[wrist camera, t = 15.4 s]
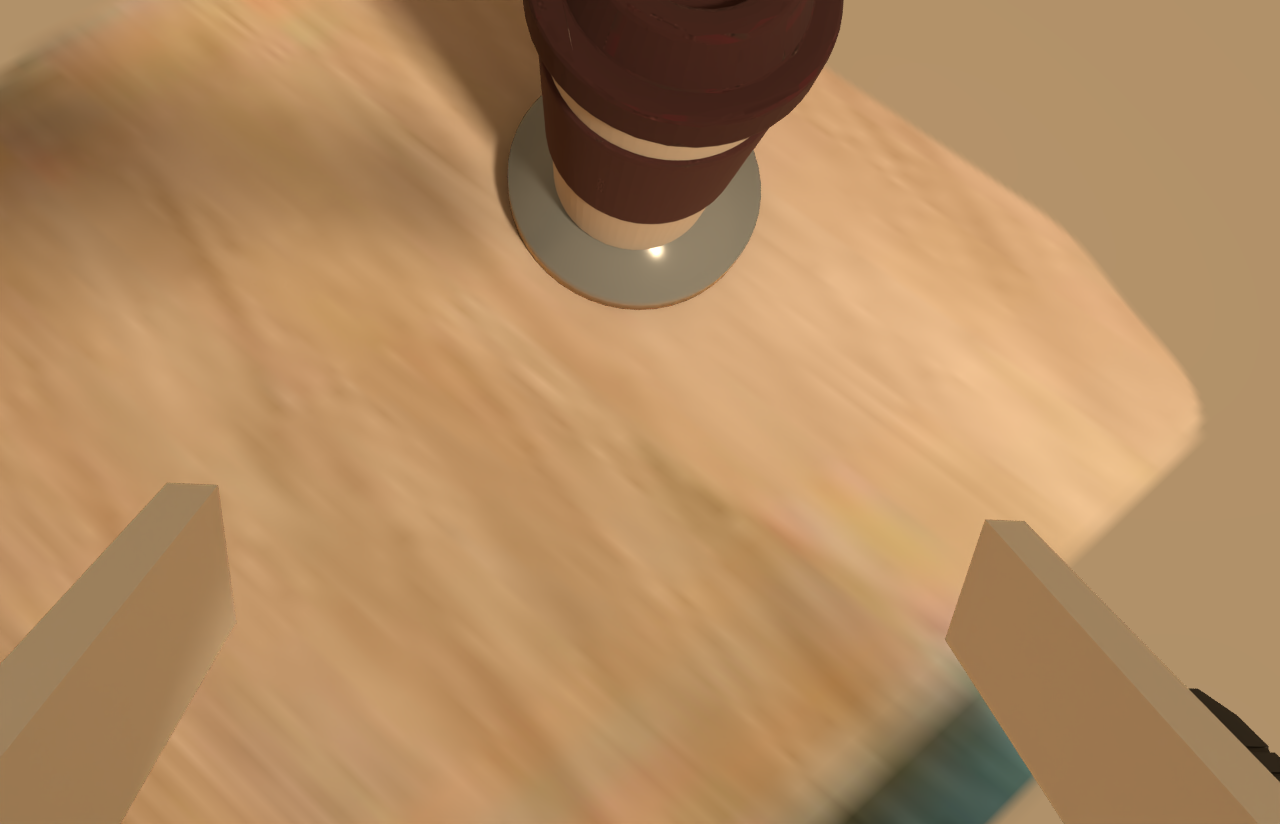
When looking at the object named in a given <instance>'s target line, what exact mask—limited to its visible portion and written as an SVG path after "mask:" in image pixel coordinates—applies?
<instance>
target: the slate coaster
mask: <svg viewBox="0 0 1280 824" xmlns="http://www.w3.org/2000/svg"><path fill="white" fill-rule="evenodd" d="M508 191H509V203H510V208H511V212H512V216H513V220H514V222H515V225H516V228H517V230H518V233H519V235H520V237H521V239H522V241H523V242H524V244H525V246H526V248H527V249H528V251H529V252H530V254H531V255H532V256H533V258H534V259H535V260H536V262H537V263H538V264H539V265H540V266H541V267H542V268H543V269H544V270H545V271H546V272H547V273H548V274H549V275H550V276H551V277H552V278H554V279H555V280H556V281H557V282H559V283H560V284H561V285H563V286H564V287H566V288H567V289H569V290H571V291H572V292H574V293H576V294H578V295H580V296H582V297H584V298H586V299H588V300H591V301H594V302H597V303H600V304H603V305H606V306H611V307H616V308H621V309H634V310H645V309H657V308H662V307H667V306H672V305H675V304H678V303H681V302H684V301H687V300H689V299H691V298H693V297H695V296H697V295H699V294H701V293H702V292H704V291H705V290H707V289H708V288H710V287H711V286H713V285H714V284H715V283H716V282H717V281H718V280H719V279H721V278H722V277H723V276H724V275H725V274H726V273H727V271H728V270H729V269H730V268H731V267H732V265H733V264H734V263H735V262H736V260H737V259H738V257H739V256H740V254H741V253H742V251H743V250H744V248H745V246H746V245H747V243H748V242H749V239H750V237H751V235H752V233H753V230H754V228H755V225H756V221H757V218H758V214H759V208H760V200H761V181H760V174H759V167H758V164H757V160H756V157H755V153H754V151H752V152H751V154H750V155H749V156H748V158H747V159H746V161H745V162H744V163H743V165H742V166H741V168H740V169H739V170H738V172H737V173H736V175H735V176H734V177H733V179H732V180H731V182H730V183H729V184H728V186H727V187H726V188H725V190H724V191H723V192H722V193H721V194H720V195H719V196H718V197H717V198H716V200H715V201H714V202H712V203H711V204H710V205H708V206H707V207H706V208H705V210H704V211H703V213H702V214H701V216H700V217H699V218H698V220H697V221H696V222H695V224H694V225H693V226H692V227H691V228H690V229H689V230H688V231H687V232H685V233H684V234H683V235H682V236H680V237H678V238H677V239H675V240H674V241H672V242H670V243H667V244H665V245H662V246H660V247H656V248H651V249H646V250H628V249H621V248H617V247H613V246H610V245H606V244H604V243H602V242H600V241H598V240H596V239H594V238H592V237H591V236H590V235H588V234H587V233H586V232H584V231H583V230H582V229H580V228H579V227H578V226H577V225H576V224H575V222H574V221H573V220H572V219H571V218H570V216H569V215H568V214H567V212H566V211H565V209H564V207H563V205H562V203H561V201H560V199H559V196H558V194H557V191H556V187H555V182H554V173H553V160H552V157H551V155H550V152H549V148H548V144H547V139H546V132H545V121H544V109H543V98H542V96H541V97H540V98H539V99H538V100H537V101H536V102H535V103H534V104H533V105H532V106H531V108H530V109H529V111H528V112H527V113H526V115H525V116H524V118H523V120H522V121H521V123H520V125H519V127H518V129H517V131H516V134H515V137H514V139H513V142H512V145H511V150H510V155H509V160H508Z"/></svg>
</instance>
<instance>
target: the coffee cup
mask: <svg viewBox="0 0 1280 824" xmlns="http://www.w3.org/2000/svg"><path fill="white" fill-rule="evenodd" d="M523 4H524V11H525V17H526V22H527V25H528V28H529V32H530V35H531V39H532V41H533V44H534V46H535V48H536V50H537V52H538V54H539V63H540V75H541V86H542V98H543V109H544V121H545V132H546V139H547V144H548V148H549V152H550V155H551V157H552V160H553V173H554V182H555V187H556V191H557V194H558V196H559V199H560V201H561V203H562V205H563V207H564V209H565V211H566V212H567V214H568V215H569V216H570V218H571V219H572V220H573V221H574V222H575V224H576V225H577V226H578V227H579V228H580V229H582V230H583V231H584V232H586V233H587V234H588V235H590V236H591V237H592V238H594V239H596V240H598V241H600V242H602V243H604V244H606V245H610V246H613V247H617V248H621V249H628V250H646V249H651V248H656V247H660V246H662V245H665V244H667V243H670V242H672V241H674V240H675V239H677V238H678V237H680V236H682V235H683V234H684V233H685V232H687V231H688V230H689V229H690V228H691V227H692V226H693V225H694V224H695V222H696V221H697V220H698V218H699V217H700V216H701V214H702V213H703V211H704V210H705V208H706V207H707V206H708V205H710V204H711V203H712V202H714V201H715V200H716V198H717V197H718V196H719V195H720V194H721V193H722V192H723V191H724V190H725V188H726V187H727V186H728V184H729V183H730V182H731V180H732V179H733V177H734V176H735V175H736V173H737V172H738V170H739V169H740V168H741V166H742V165H743V163H744V162H745V161H746V159H747V158H748V156H749V155H750V154H751V152H752V151H753V150H754V148H755V147H756V145H757V144H758V143H759V141H760V140H761V138H762V137H763V136H764V134H765V133H766V131H767V130H768V129H769V128H770V127H771V126H772V125H774V124H775V123H777V122H778V121H780V120H781V119H782V118H784V117H785V116H786V115H788V114H789V113H790V112H791V111H792V110H793V109H794V108H795V107H796V106H797V105H798V104H799V103H800V102H801V100H802V99H803V98H804V97H805V95H806V94H807V93H808V91H809V90H810V88H811V87H812V85H813V83H814V82H815V80H816V79H817V77H818V75H819V74H820V72H821V70H822V69H823V67H824V65H825V64H826V62H827V60H828V58H829V56H830V54H831V52H832V50H833V48H834V45H835V42H836V39H837V36H838V33H839V30H840V25H841V19H842V13H843V0H523Z"/></svg>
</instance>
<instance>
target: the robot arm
mask: <svg viewBox="0 0 1280 824" xmlns="http://www.w3.org/2000/svg"><path fill="white" fill-rule="evenodd" d="M235 624H236V616H235V608H234V601H233V593H232V586H231V578H230V571H229V563H228V556H227V548H226V541H225V533H224V526H223V518H222V511H221V503H220V496H219V488H218V485H206V484H184V483H166V485H165V486H164V487H163V488H162V489H161V490H160V491H159V492H158V493H157V494H156V495H155V496H154V498H153V499H152V500H151V501H150V502H149V503H148V504H147V505H146V506H145V507H144V508H143V510H142V511H141V512H140V513H139V514H138V515H137V516H136V517H135V518H134V519H133V520H132V521H131V523H130V524H129V525H128V526H127V527H126V528H125V529H124V530H123V531H122V532H121V533H120V534H119V536H118V537H117V538H116V539H115V540H114V541H113V542H112V543H111V544H110V545H109V546H108V548H107V549H106V550H105V551H104V552H103V553H102V554H101V555H100V556H99V557H98V558H97V559H96V561H95V562H94V563H93V564H92V565H91V566H90V567H89V568H88V569H87V570H86V571H85V572H84V574H83V575H82V576H81V577H80V578H79V579H78V580H77V581H76V582H75V583H74V584H73V585H72V587H71V588H70V589H69V590H68V591H67V592H66V593H65V594H64V595H63V596H62V597H61V599H60V600H59V601H58V602H57V603H56V604H55V605H54V606H53V607H52V608H51V609H50V610H49V612H48V613H47V614H46V615H45V616H44V617H43V618H42V619H41V620H40V621H39V622H38V623H37V625H36V626H35V627H34V628H33V629H32V630H31V631H30V632H29V633H28V634H27V635H26V637H25V638H24V639H23V640H22V641H21V642H20V643H19V644H18V645H17V646H16V647H15V648H14V650H13V651H12V652H11V653H10V654H9V655H8V656H7V657H6V658H5V659H4V660H3V661H2V663H1V664H0V824H121V822H122V820H123V818H124V817H125V815H126V813H127V812H128V810H129V808H130V806H131V805H132V803H133V801H134V799H135V798H136V796H137V794H138V792H139V791H140V789H141V787H142V785H143V784H144V782H145V780H146V778H147V777H148V775H149V773H150V772H151V770H152V768H153V766H154V765H155V763H156V761H157V759H158V758H159V756H160V754H161V752H162V751H163V749H164V747H165V745H166V744H167V742H168V740H169V738H170V737H171V735H172V733H173V732H174V730H175V728H176V726H177V725H178V723H179V721H180V719H181V718H182V716H183V714H184V712H185V711H186V709H187V707H188V705H189V704H190V702H191V700H192V698H193V697H194V695H195V693H196V692H197V690H198V688H199V686H200V685H201V683H202V681H203V679H204V678H205V676H206V674H207V672H208V671H209V669H210V667H211V665H212V664H213V662H214V660H215V658H216V657H217V655H218V653H219V652H220V650H221V648H222V646H223V645H224V643H225V641H226V639H227V638H228V636H229V634H230V632H231V631H232V629H233V627H234V625H235ZM945 640H946V642H947V644H948V645H949V647H950V648H951V650H952V651H953V653H954V654H955V656H956V658H957V659H958V661H959V662H960V664H961V665H962V667H963V668H964V670H965V671H966V673H967V675H968V676H969V678H970V679H971V681H972V682H973V684H974V685H975V687H976V688H977V690H978V692H979V693H980V695H981V696H982V698H983V699H984V701H985V702H986V704H987V705H988V707H989V709H990V710H991V712H992V713H993V715H994V716H995V718H996V719H997V721H998V722H999V724H1000V726H1001V727H1002V729H1003V730H1004V732H1005V733H1006V735H1007V736H1008V738H1009V740H1010V741H1011V743H1012V744H1013V746H1014V747H1015V749H1016V750H1017V752H1018V753H1019V755H1020V757H1021V758H1022V760H1023V761H1024V763H1025V764H1026V766H1027V767H1028V769H1029V770H1030V772H1031V774H1032V775H1033V777H1034V778H1035V780H1036V781H1037V783H1038V784H1039V786H1040V787H1041V789H1042V791H1043V792H1044V794H1045V795H1046V797H1047V798H1048V800H1049V801H1050V803H1051V804H1052V806H1053V807H1054V809H1055V811H1056V812H1057V814H1058V815H1059V817H1060V818H1061V820H1062V822H1063V823H1064V824H1280V757H1279V756H1278V755H1277V754H1275V753H1270V752H1269V750H1268V745H1267V744H1266V743H1264V742H1263V740H1261V739H1260V738H1259V737H1258V736H1257V735H1256V734H1255V733H1254V732H1253V731H1252V730H1251V729H1250V728H1249V727H1248V726H1247V725H1246V724H1245V723H1244V722H1243V721H1242V720H1241V719H1240V718H1239V717H1238V716H1237V715H1236V714H1234V713H1233V712H1231V711H1230V710H1228V709H1227V708H1225V707H1224V706H1222V705H1221V704H1220V703H1218V702H1217V701H1215V700H1214V699H1212V698H1211V697H1209V696H1208V695H1206V694H1205V693H1203V692H1201V691H1200V690H1199V689H1188V688H1187V687H1186V686H1185V685H1184V684H1183V683H1182V682H1181V681H1180V680H1179V679H1178V678H1177V677H1176V676H1175V675H1174V673H1173V672H1172V671H1171V670H1170V669H1169V668H1168V667H1167V666H1166V665H1165V664H1164V663H1163V662H1162V661H1161V660H1160V659H1159V658H1158V657H1157V656H1156V655H1155V654H1154V653H1153V652H1152V651H1151V650H1150V649H1149V648H1148V647H1147V646H1146V645H1145V644H1144V643H1143V642H1142V641H1141V640H1140V639H1139V638H1138V637H1137V636H1136V635H1135V634H1134V633H1133V632H1132V631H1131V630H1130V628H1128V626H1127V625H1126V624H1124V622H1123V621H1122V620H1121V619H1120V618H1119V617H1118V616H1117V615H1116V614H1115V613H1114V612H1113V611H1112V610H1111V609H1110V608H1109V607H1108V606H1107V605H1106V604H1105V603H1104V602H1103V601H1102V600H1101V599H1100V598H1099V597H1098V596H1097V595H1096V594H1095V593H1094V592H1093V591H1092V590H1091V589H1090V588H1089V587H1088V586H1087V585H1086V584H1085V583H1084V582H1083V580H1082V579H1081V578H1080V577H1079V576H1078V575H1077V574H1076V573H1075V572H1074V571H1073V570H1072V569H1071V568H1070V567H1069V566H1068V565H1067V564H1066V563H1065V562H1064V561H1063V560H1062V559H1061V558H1060V557H1059V556H1058V555H1057V554H1056V553H1055V552H1054V551H1053V550H1052V549H1051V548H1050V547H1049V546H1048V545H1047V544H1046V543H1045V542H1044V541H1043V540H1042V539H1041V538H1040V537H1039V535H1038V534H1037V533H1036V532H1035V531H1034V530H1033V529H1032V528H1031V527H1030V526H1029V525H1028V524H1027V523H1026V522H1025V521H1007V520H985V522H984V525H983V528H982V531H981V534H980V537H979V540H978V543H977V545H976V548H975V551H974V554H973V557H972V560H971V563H970V566H969V569H968V572H967V575H966V578H965V581H964V584H963V587H962V590H961V593H960V596H959V599H958V602H957V605H956V608H955V611H954V614H953V617H952V620H951V623H950V626H949V629H948V632H947V635H946V638H945Z"/></svg>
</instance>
